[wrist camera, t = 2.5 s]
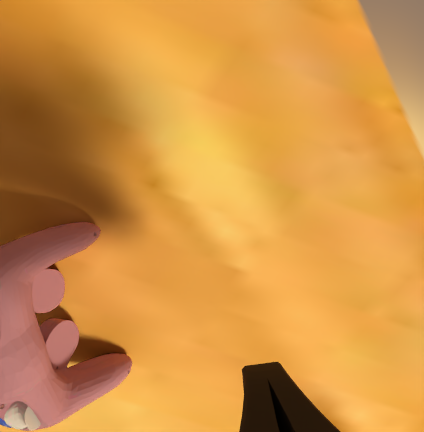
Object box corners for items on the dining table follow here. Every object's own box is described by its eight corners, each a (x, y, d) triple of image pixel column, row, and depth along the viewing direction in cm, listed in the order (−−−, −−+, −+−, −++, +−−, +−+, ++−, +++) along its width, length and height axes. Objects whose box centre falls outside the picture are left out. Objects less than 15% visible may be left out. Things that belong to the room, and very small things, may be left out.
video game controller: (41, 214, 20) (-98, 270, 14) (105, 213, 18) (-23, 277, 12) (83, 358, 23) (-18, 456, 17) (141, 369, 21) (52, 483, 15)
